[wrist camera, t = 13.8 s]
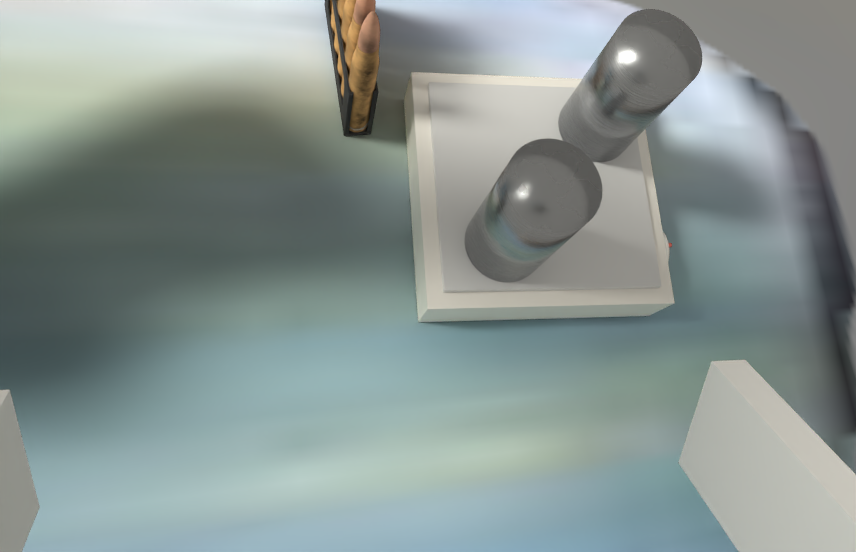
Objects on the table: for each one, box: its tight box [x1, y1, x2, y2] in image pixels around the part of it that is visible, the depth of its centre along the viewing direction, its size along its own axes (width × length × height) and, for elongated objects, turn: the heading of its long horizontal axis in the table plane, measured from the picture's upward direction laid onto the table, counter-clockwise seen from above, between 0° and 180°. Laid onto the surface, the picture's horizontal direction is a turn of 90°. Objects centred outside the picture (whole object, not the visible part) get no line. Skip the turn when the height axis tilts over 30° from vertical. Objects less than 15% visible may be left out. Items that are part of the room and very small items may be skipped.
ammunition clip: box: [325, 0, 380, 136], centre depth 44 cm, size 11×2×12 cm, turn 10°
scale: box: [404, 72, 675, 322], centre depth 47 cm, size 17×16×4 cm
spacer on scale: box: [558, 9, 702, 162], centre depth 43 cm, size 5×5×9 cm
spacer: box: [465, 138, 602, 283], centre depth 39 cm, size 5×5×9 cm
